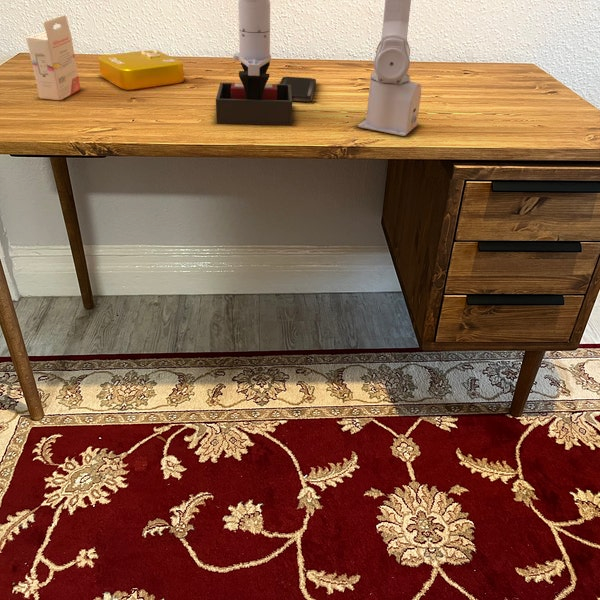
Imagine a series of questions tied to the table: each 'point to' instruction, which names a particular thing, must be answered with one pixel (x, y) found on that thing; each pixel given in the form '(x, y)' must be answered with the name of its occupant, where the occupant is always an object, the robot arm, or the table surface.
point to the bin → (254, 108)
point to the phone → (300, 88)
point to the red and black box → (239, 93)
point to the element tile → (141, 69)
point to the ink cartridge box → (54, 60)
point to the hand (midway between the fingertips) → (255, 104)
